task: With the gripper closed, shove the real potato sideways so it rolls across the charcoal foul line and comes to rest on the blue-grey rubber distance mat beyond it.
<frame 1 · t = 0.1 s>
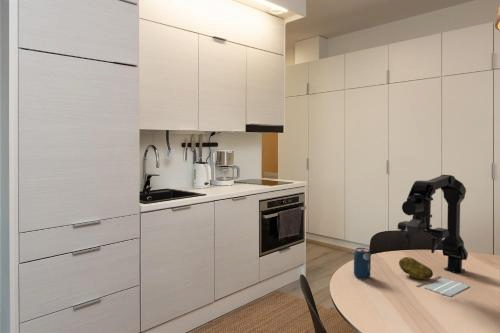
hand: (421, 250, 149), 15 cm above the table, fingers open, 9 cm apart
potato: (415, 277, 158), on the table, touching foul line
soda can: (361, 277, 159), on the table
distance mat: (447, 287, 147), on the table
foul line: (428, 281, 153), on the table
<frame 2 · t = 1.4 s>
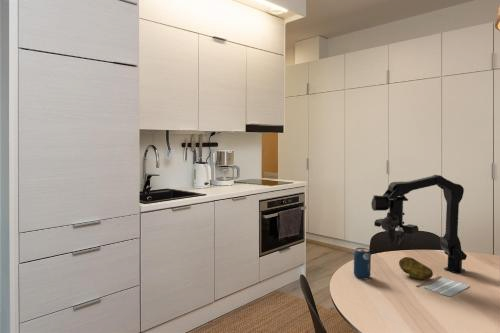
hand: (395, 244, 165), 12 cm above the table, fingers closed
nothing on the table moved.
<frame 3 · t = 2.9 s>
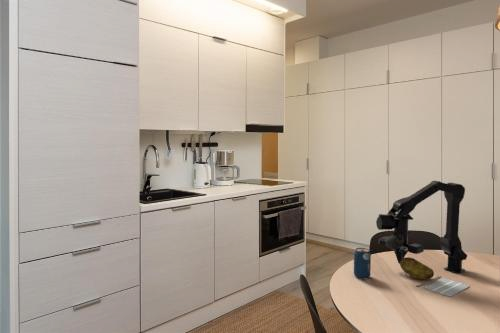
hand: (399, 263, 164), 4 cm above the table, fingers closed
potato: (416, 277, 158), on the table, touching gripper
everything else where it was.
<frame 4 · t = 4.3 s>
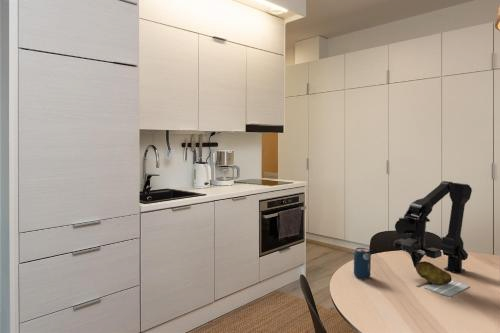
hand: (415, 267, 157), 4 cm above the table, fingers closed
potato: (432, 282, 152), on the table, touching gripper
everything else where it was.
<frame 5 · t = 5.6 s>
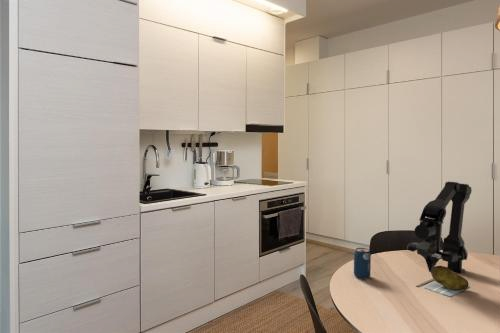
hand: (430, 271, 152), 5 cm above the table, fingers closed
potato: (448, 287, 146), resting on distance mat, touching gripper
everything else where it was.
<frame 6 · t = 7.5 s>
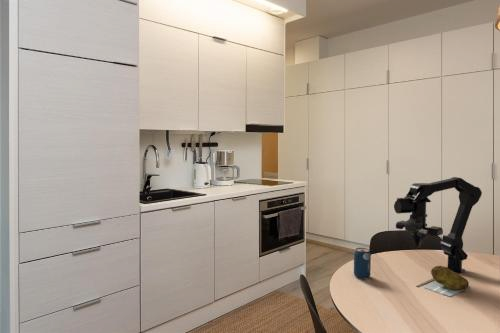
hand: (418, 247, 162), 12 cm above the table, fingers closed
potato: (448, 287, 146), resting on distance mat
everything else where it was.
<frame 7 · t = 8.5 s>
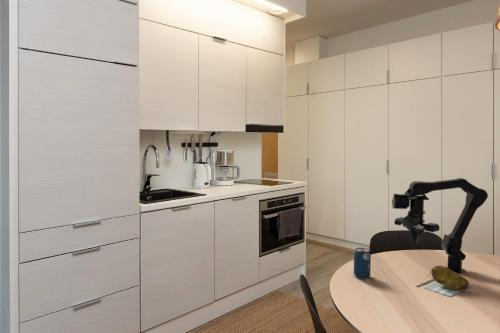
hand: (415, 242, 168), 12 cm above the table, fingers closed
nothing on the table moved.
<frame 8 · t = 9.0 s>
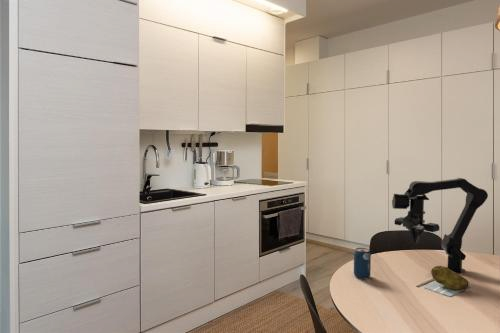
hand: (415, 242, 168), 12 cm above the table, fingers closed
nothing on the table moved.
at the end: potato inside the target area (2.7 cm from its centre), resting on distance mat; potato moved 14.3 cm from its start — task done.
